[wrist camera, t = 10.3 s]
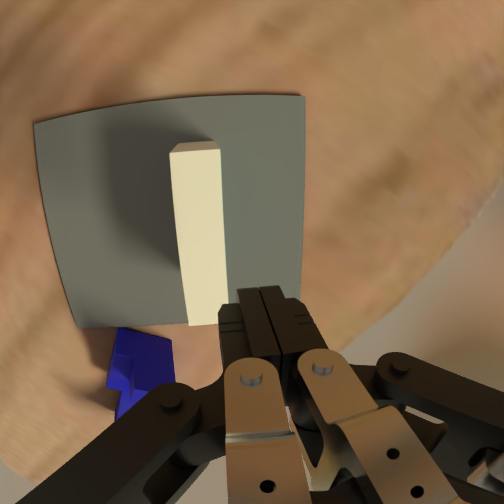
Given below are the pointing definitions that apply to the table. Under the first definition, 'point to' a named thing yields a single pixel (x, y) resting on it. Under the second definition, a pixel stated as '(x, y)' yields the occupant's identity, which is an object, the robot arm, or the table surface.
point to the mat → (169, 201)
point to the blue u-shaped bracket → (138, 366)
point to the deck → (200, 228)
